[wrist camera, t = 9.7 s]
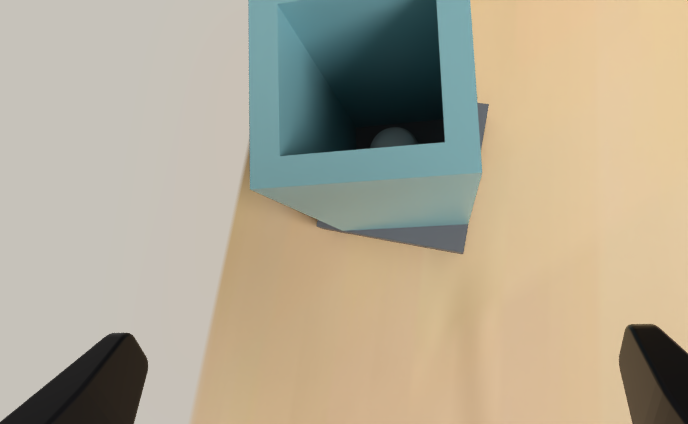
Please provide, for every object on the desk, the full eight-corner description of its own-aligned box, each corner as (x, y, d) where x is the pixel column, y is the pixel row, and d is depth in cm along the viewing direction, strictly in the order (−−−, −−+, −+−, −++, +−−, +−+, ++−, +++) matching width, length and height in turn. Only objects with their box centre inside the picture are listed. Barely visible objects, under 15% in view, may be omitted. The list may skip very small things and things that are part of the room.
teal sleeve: (468, 224, 20) (481, 172, 11) (342, 230, 21) (249, 189, 12) (460, 101, 21) (466, -54, 11) (338, 112, 22) (248, -20, 12)
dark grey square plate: (462, 254, 21) (465, 247, 17) (323, 228, 23) (292, 216, 18) (486, 113, 22) (495, 72, 17) (349, 97, 23) (325, 54, 19)
